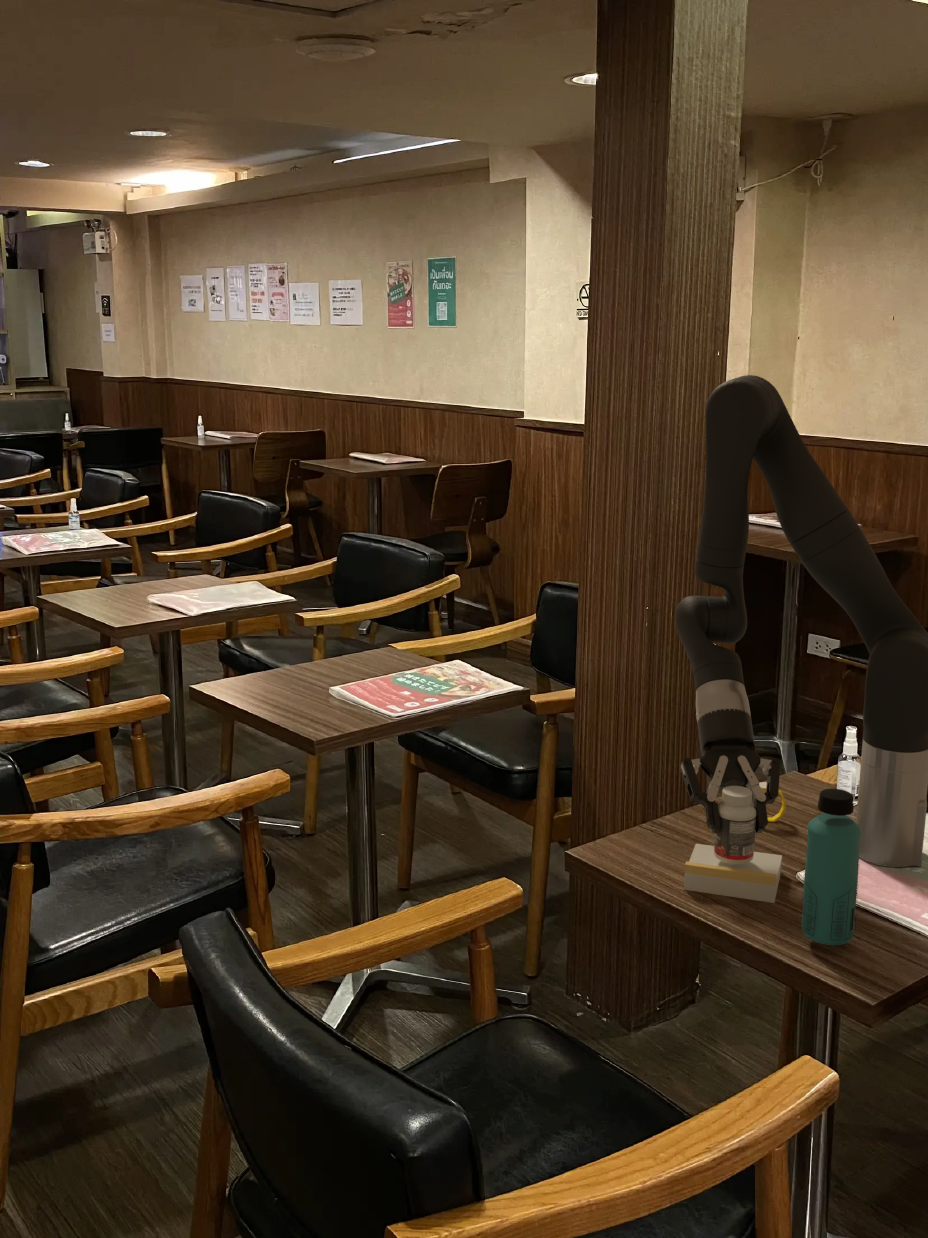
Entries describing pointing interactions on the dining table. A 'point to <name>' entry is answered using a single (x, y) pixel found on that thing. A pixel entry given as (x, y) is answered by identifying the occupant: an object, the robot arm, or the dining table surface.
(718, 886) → the dock
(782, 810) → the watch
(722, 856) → the pill bottle
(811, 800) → the dining table surface
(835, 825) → the beverage bottle
